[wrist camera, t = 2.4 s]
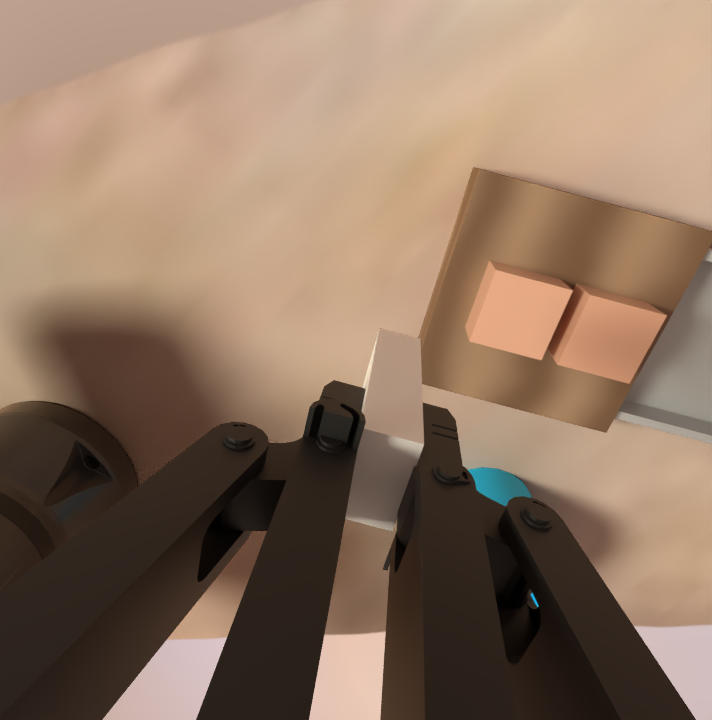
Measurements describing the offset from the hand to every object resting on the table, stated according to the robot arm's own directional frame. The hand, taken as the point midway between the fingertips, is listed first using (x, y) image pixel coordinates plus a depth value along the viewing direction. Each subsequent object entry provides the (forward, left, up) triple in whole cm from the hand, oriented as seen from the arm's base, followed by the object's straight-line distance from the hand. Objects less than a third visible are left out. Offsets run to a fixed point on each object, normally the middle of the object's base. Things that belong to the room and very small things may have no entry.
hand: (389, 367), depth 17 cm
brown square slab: (+10, 0, -18) cm, 20 cm away
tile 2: (+7, 0, -14) cm, 16 cm away
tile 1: (+13, 0, -14) cm, 19 cm away
